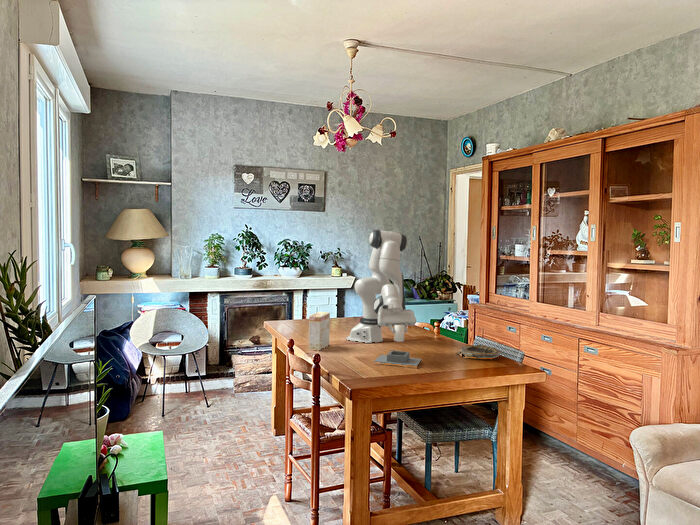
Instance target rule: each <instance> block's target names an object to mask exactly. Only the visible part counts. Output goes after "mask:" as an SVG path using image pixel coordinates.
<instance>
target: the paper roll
mask: <svg viewBox="0 0 700 525" xmlns="http://www.w3.org/2000/svg"><path fill="white" fill-rule="evenodd" d="M393 328H395V333H393V334H394V335H393V341H394V342H398V343H399V342H405V332H404V331H405V328H406V327H405V325H402V324H395V326H393Z"/></svg>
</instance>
